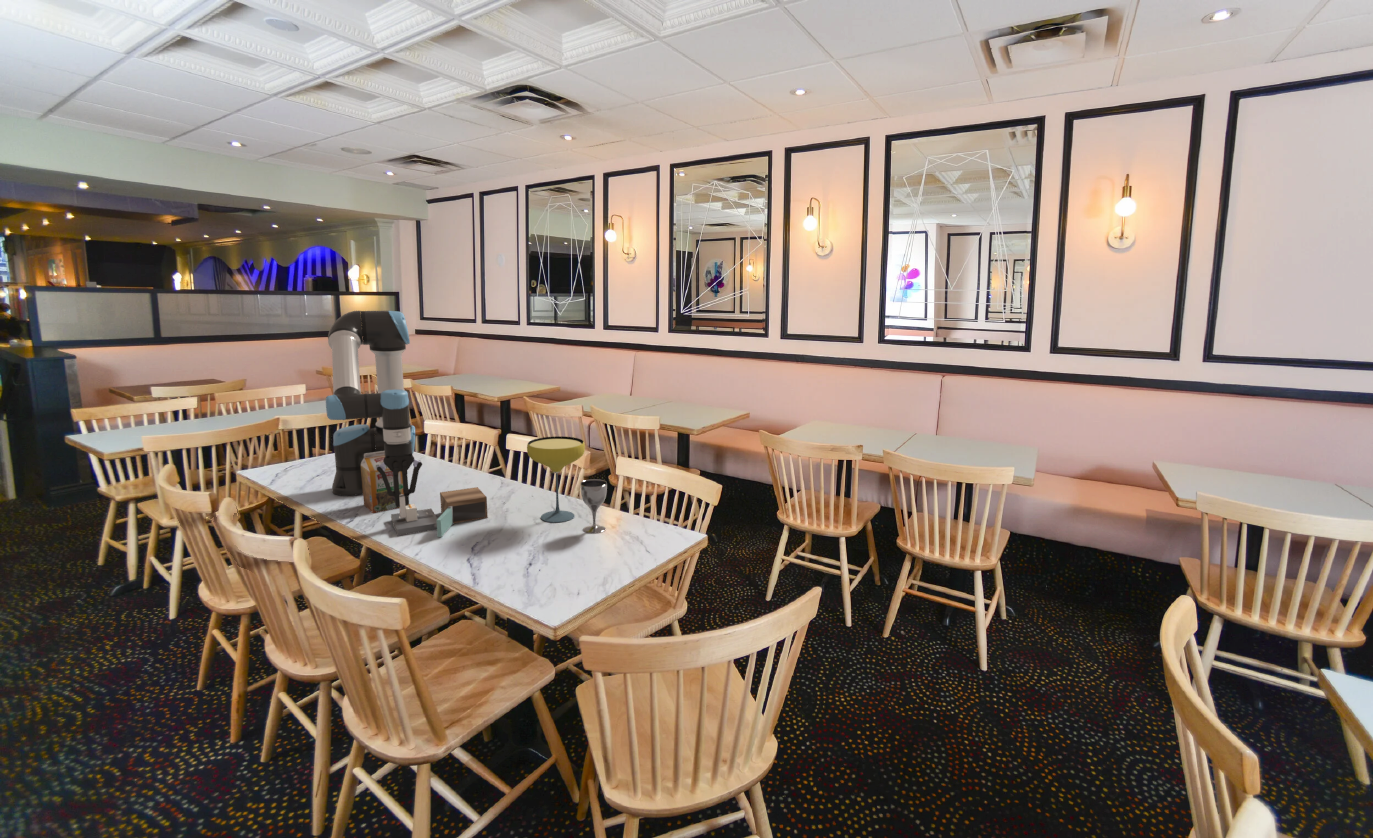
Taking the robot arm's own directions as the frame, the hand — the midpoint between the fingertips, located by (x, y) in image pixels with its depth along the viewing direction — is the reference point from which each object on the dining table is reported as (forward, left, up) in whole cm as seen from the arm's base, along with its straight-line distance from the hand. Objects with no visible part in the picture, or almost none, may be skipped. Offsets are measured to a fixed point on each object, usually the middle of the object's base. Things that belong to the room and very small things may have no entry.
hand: (403, 515), depth 193 cm
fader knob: (0, +2, -1) cm, 3 cm away
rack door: (+10, +10, -3) cm, 14 cm away
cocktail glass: (+14, +44, -4) cm, 47 cm away
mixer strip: (0, +3, -3) cm, 5 cm away
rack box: (-2, +18, -3) cm, 19 cm away
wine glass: (+30, +50, -4) cm, 59 cm away
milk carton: (-24, -3, -4) cm, 24 cm away
